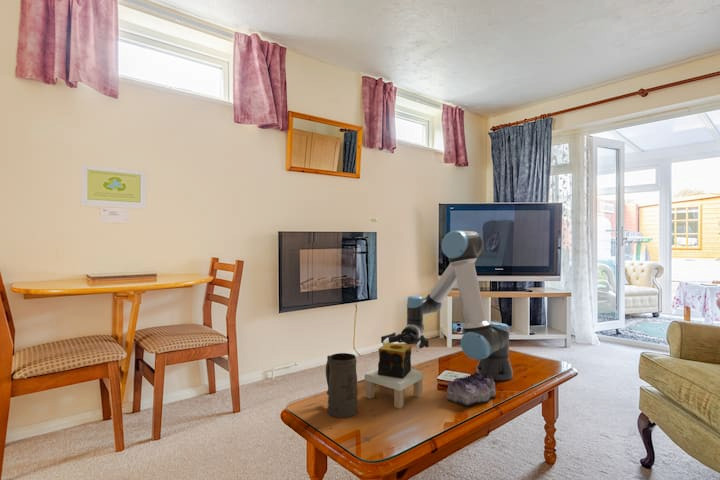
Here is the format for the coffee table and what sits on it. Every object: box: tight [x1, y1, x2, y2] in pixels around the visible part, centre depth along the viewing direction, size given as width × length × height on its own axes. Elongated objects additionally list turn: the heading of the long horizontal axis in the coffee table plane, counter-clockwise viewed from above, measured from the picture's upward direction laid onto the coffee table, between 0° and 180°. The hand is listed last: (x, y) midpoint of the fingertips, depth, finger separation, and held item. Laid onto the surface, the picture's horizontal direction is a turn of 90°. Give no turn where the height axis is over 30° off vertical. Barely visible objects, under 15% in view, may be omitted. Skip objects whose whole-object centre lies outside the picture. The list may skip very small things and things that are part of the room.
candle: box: [377, 342, 412, 379], centre depth 150 cm, size 10×10×10 cm
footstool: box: [364, 367, 424, 410], centre depth 151 cm, size 16×16×9 cm
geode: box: [446, 373, 496, 406], centre depth 149 cm, size 20×12×10 cm, turn 119°
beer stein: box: [325, 352, 359, 419], centre depth 139 cm, size 15×10×20 cm
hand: (400, 346), depth 159 cm, fingers open, 13 cm apart
